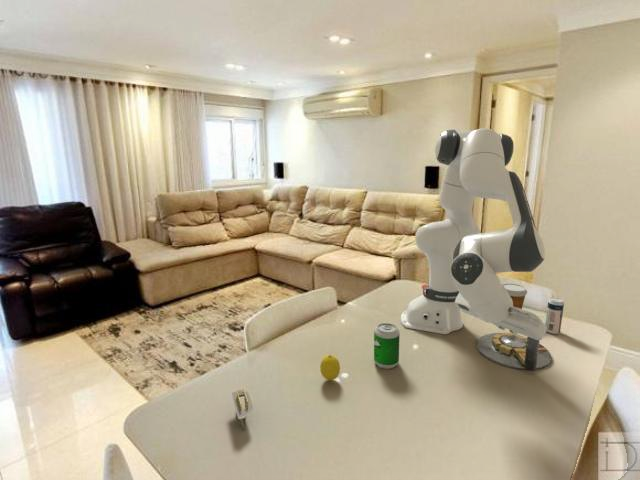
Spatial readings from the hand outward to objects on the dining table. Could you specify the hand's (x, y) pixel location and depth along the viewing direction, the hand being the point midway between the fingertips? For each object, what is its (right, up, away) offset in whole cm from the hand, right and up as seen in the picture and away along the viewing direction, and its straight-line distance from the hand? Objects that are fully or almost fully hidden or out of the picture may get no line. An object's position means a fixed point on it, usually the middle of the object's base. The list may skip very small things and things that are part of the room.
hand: (509, 329), depth 96 cm
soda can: (-29, -15, +18) cm, 37 cm away
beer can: (+33, -10, +36) cm, 50 cm away
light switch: (-68, -21, -4) cm, 71 cm away
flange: (+13, -13, +23) cm, 29 cm away
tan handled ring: (+12, -12, +19) cm, 26 cm away
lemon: (-46, -17, +10) cm, 50 cm away
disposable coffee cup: (+25, -7, +49) cm, 55 cm away
